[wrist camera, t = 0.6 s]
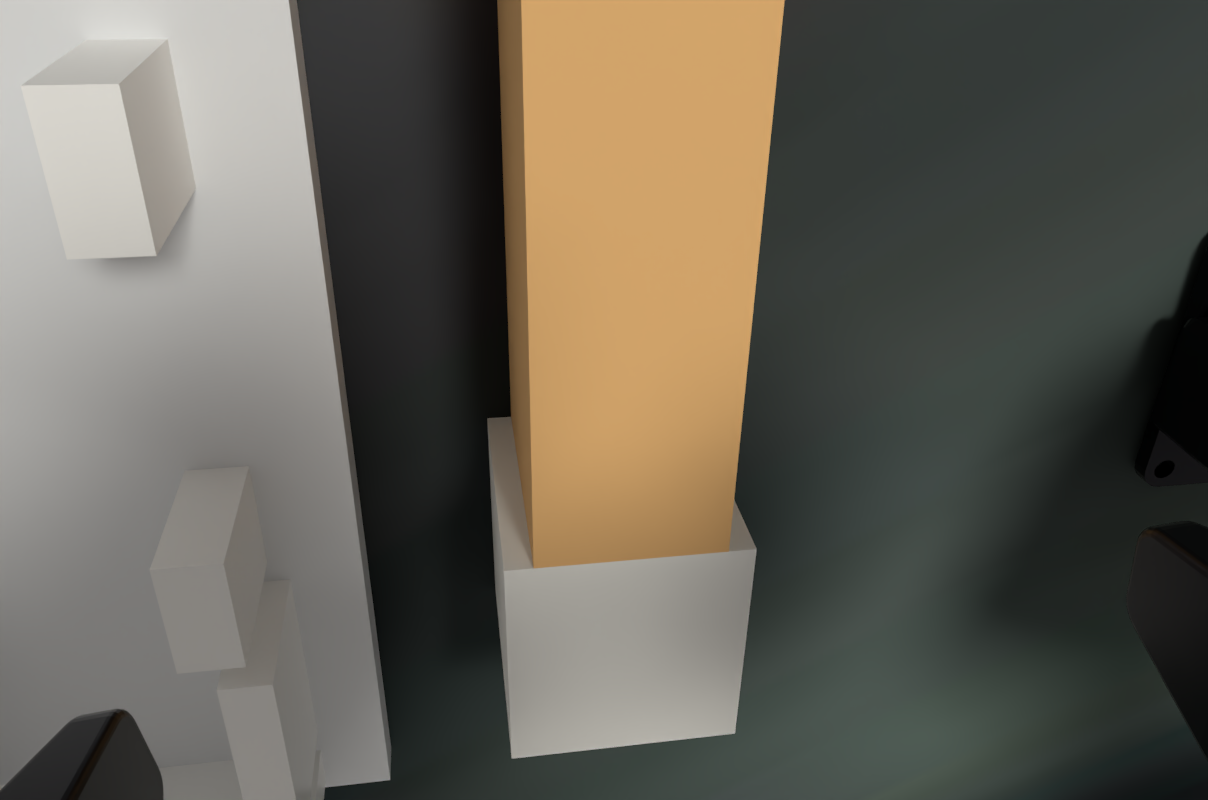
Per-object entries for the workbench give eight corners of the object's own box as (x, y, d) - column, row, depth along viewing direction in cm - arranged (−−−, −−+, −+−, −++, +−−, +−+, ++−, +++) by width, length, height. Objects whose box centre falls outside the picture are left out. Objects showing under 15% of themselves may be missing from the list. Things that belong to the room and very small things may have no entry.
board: (277, -152, 16) (238, -141, 12) (391, 747, 26) (387, 891, 22) (-545, -163, 14) (-854, -154, 11) (-81, 799, 24) (-163, 963, 21)
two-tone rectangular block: (732, -181, 16) (842, -176, 12) (679, 570, 24) (734, 733, 20) (458, -187, 16) (473, -183, 12) (495, 587, 24) (511, 758, 19)
